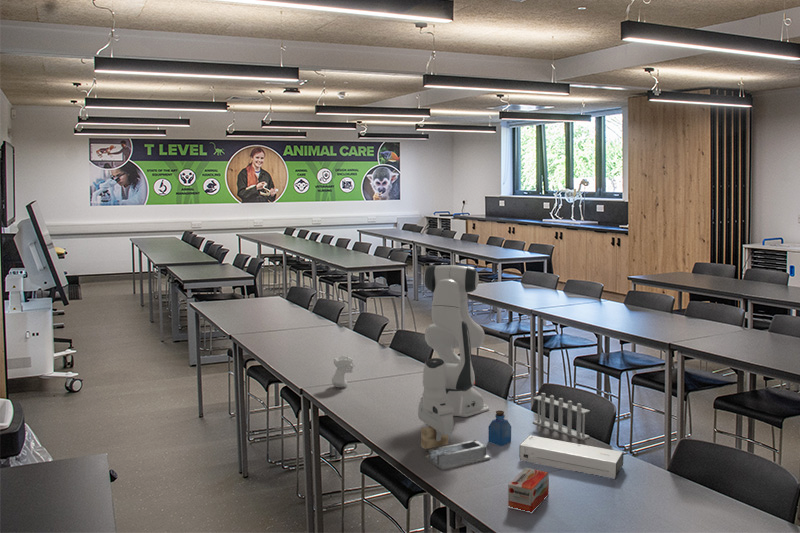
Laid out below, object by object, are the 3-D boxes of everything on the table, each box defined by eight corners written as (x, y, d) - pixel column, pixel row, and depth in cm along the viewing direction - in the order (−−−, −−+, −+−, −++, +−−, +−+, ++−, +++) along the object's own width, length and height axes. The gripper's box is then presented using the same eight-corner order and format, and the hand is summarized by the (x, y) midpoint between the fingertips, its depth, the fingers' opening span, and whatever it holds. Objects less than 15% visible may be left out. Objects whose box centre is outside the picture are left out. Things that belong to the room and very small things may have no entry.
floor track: (471, 448, 258) (471, 437, 257) (490, 459, 247) (490, 448, 247) (425, 458, 248) (425, 447, 248) (442, 470, 238) (442, 459, 237)
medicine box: (524, 489, 223) (525, 466, 222) (549, 495, 218) (549, 471, 217) (507, 508, 210) (507, 484, 209) (532, 515, 206) (532, 490, 205)
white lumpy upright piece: (331, 385, 340) (331, 355, 338) (354, 384, 341) (353, 354, 339) (331, 390, 330) (331, 360, 328) (355, 389, 331) (354, 359, 330)
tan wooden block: (444, 441, 260) (444, 423, 259) (448, 443, 257) (448, 426, 256) (421, 446, 256) (421, 428, 255) (425, 449, 253) (425, 431, 252)
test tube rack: (589, 437, 268) (590, 405, 266) (582, 440, 265) (583, 407, 263) (539, 420, 287) (539, 390, 285) (532, 423, 284) (532, 392, 282)
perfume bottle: (498, 437, 268) (498, 408, 266) (511, 441, 264) (511, 411, 262) (488, 442, 264) (488, 411, 262) (501, 446, 259) (501, 415, 258)
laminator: (623, 468, 239) (623, 451, 238) (615, 482, 228) (615, 464, 228) (529, 450, 256) (529, 434, 255) (518, 462, 245) (518, 445, 244)
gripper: (413, 396, 262) (414, 430, 264) (441, 412, 244) (441, 449, 246) (428, 393, 265) (428, 427, 267) (456, 409, 247) (456, 446, 249)
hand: (434, 438), depth 256 cm, fingers closed on tan wooden block, 3 cm apart
